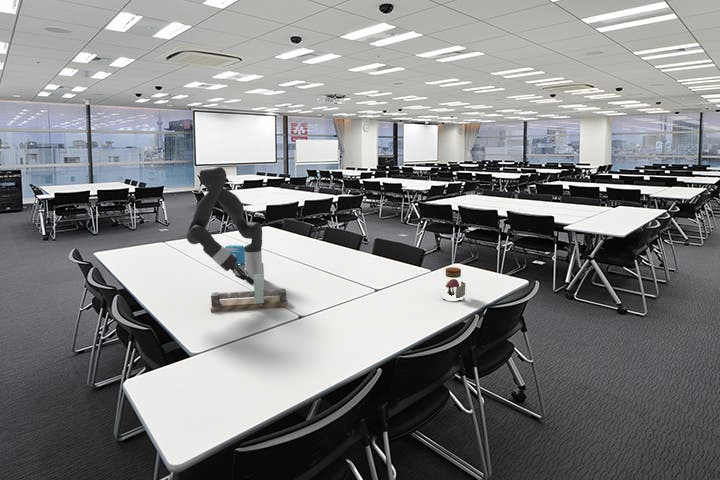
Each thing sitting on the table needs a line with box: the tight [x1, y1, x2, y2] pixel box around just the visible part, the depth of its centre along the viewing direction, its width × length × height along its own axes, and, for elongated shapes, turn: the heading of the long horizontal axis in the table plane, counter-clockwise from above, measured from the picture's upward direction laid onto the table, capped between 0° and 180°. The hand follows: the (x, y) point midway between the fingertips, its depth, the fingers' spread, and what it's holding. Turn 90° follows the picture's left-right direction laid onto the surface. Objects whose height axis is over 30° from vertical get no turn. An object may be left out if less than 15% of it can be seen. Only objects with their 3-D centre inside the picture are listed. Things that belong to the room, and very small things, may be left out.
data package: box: [224, 244, 245, 265], centre depth 289 cm, size 12×4×12 cm, turn 75°
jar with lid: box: [445, 266, 466, 298], centre depth 218 cm, size 12×13×15 cm
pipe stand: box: [210, 288, 288, 313], centre depth 210 cm, size 34×12×7 cm, turn 100°
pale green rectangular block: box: [253, 274, 265, 304], centre depth 210 cm, size 4×8×12 cm, turn 10°
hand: (253, 283), depth 209 cm, fingers closed
